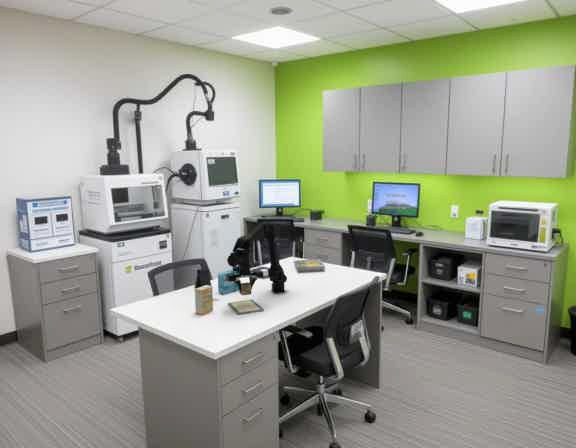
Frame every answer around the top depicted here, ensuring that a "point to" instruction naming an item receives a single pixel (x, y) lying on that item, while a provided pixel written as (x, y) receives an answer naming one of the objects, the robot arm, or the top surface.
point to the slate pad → (245, 307)
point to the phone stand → (202, 278)
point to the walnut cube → (245, 289)
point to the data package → (226, 283)
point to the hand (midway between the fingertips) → (245, 291)
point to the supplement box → (203, 299)
